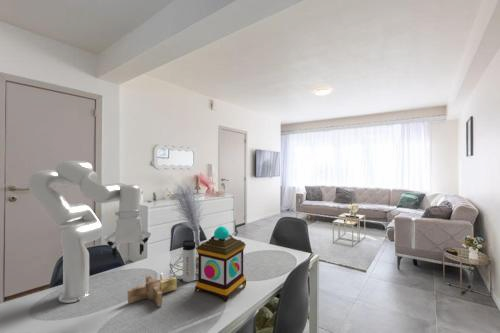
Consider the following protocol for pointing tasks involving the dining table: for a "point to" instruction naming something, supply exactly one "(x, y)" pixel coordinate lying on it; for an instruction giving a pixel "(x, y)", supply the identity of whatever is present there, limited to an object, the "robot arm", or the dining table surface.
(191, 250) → the travel mug
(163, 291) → the wooden cross piece
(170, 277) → the window posts
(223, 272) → the decorative lantern
